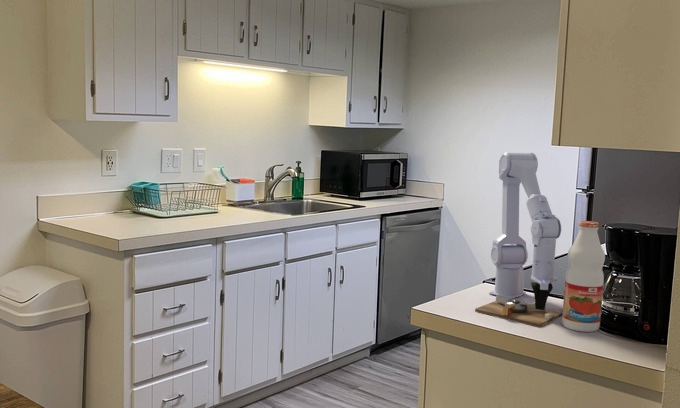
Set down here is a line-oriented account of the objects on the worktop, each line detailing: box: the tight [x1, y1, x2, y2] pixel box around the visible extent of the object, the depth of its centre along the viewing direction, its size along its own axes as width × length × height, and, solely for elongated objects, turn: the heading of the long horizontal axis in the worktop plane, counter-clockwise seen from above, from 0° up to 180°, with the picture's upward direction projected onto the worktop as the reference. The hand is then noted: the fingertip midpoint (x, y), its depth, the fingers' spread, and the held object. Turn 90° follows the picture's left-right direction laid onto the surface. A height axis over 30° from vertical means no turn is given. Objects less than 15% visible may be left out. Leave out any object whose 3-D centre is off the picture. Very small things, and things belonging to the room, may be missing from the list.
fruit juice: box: [561, 220, 606, 333], centre depth 171 cm, size 9×9×28 cm
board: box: [474, 300, 563, 328], centre depth 183 cm, size 15×19×1 cm
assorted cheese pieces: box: [495, 295, 547, 315], centre depth 182 cm, size 13×15×3 cm
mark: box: [545, 313, 553, 319], centre depth 177 cm, size 2×1×1 cm, turn 139°
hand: (539, 309), depth 182 cm, fingers closed, pressing on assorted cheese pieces
